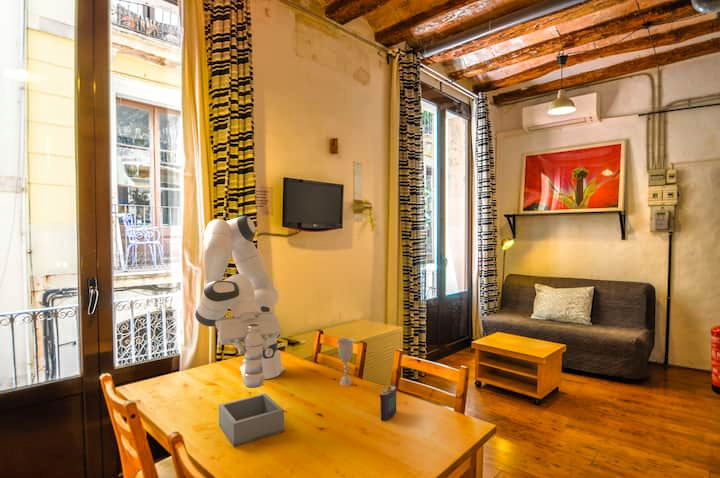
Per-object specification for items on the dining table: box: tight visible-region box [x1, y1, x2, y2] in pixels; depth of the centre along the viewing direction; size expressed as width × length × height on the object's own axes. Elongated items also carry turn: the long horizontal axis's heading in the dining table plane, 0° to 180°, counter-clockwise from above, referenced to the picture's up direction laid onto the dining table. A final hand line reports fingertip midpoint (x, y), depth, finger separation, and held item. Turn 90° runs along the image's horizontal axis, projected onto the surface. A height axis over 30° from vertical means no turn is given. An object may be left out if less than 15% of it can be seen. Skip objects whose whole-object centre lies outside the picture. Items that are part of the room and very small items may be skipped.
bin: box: [218, 393, 285, 448], centre depth 130 cm, size 16×16×7 cm
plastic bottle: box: [242, 324, 266, 389], centre depth 130 cm, size 6×7×20 cm
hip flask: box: [379, 384, 397, 422], centre depth 138 cm, size 9×3×11 cm, turn 148°
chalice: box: [336, 337, 355, 386], centre depth 168 cm, size 7×7×18 cm
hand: (253, 351), depth 129 cm, fingers closed on plastic bottle, 6 cm apart
